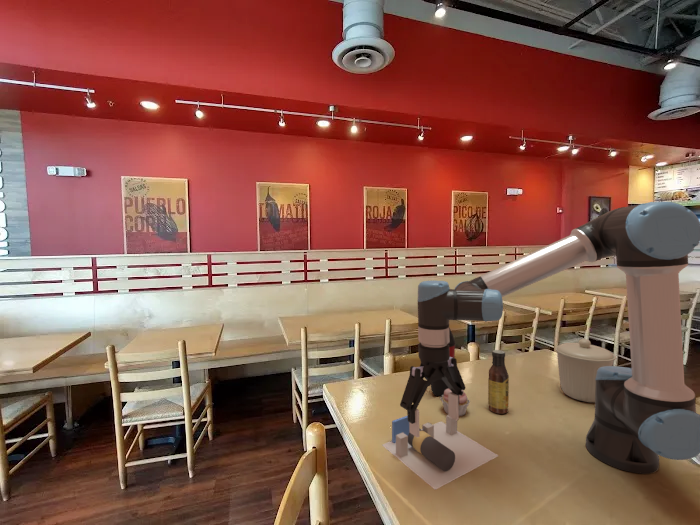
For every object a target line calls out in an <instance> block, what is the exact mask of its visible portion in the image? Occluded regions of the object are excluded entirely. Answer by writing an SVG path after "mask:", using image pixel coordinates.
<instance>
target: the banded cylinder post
mask: <svg viewBox="0 0 700 525" xmlns="http://www.w3.org/2000/svg"><path fill="white" fill-rule="evenodd" d="M421 429H422V428H420V427H419V434H420V437H418V438H417V437H416V436H414V435H413V434H411V433H410V432H409V435H408V443H409V445H411V446H412V447H413V448H414V449H415V450H417V451H418V452H419V453H421V454H422V455H423V456H425V457H426V458H427V459H429V460H430V461H431V462H432V463H434V464H435V465H436V466H438V467H439V468H440V469H441V470H443V471H448V470H450V469H451V468H452V466H453V464H454V462H455V454H454V452H453V451H452V450H450V449H449V448H447V447H446V446H444V445H443V444H441V443H440V442H439V441H437V440H436V439H434V438H433V437H432V436H430V435H429V434H427V433H426V432H424V431H423V430H421Z"/></svg>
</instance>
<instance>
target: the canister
mask: <svg viewBox="0 0 700 525" xmlns="http://www.w3.org/2000/svg"><path fill="white" fill-rule="evenodd" d="M554 350H555V352H556V354H557V356H556V357H557V366H558V367H557V368H558V375H559V376H558V377H559V383H560V389H561V390H562V392H563V393H564V394H565V395H566V396H568V397H569V398H571V399H575V400H577V401H580V402H586V403H591V404H592V403H595V390H596V380H595V378H596V374H597V370H598V369H599V368H600V367H604V366H613V365H614V361H615V360H616V359H617V356H616V354H614V353H612V352H611V351H610V350H608V349H607V348H604V347H601V346H597V345H594V344H592V343H591V341H590V340H589V339H586V338H581V339H579V340H578V342H564V343H562V344H558V345H557V346H555V347H554Z"/></svg>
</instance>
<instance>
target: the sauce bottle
mask: <svg viewBox="0 0 700 525" xmlns="http://www.w3.org/2000/svg"><path fill="white" fill-rule="evenodd" d="M491 356H492V362H491V363H492V365H491V367H489V369H488V379H487V380H488V383H487V384H488V387H487V388H488V393H487V394H488V395H487V396H488V398H487V400H488V402H487V403H488V409H489V411H491V412H492V413H495V414H500V415H503V414H507V413H508V411H509V402H510V400H509V396H510V395H509V393H510V390H509V388H510V387H509V386H510V382H509V380H510V376H509V373H508V369H507V368H506V363H505V362H506V359H505V358H506V352H505V351H504V350H501V349H494V350H492V351H491Z"/></svg>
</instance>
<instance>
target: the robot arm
mask: <svg viewBox="0 0 700 525" xmlns="http://www.w3.org/2000/svg"><path fill="white" fill-rule="evenodd" d="M699 245H700V219H699V218H698V216H697V215H696V214H695V212H693V211H692V210H691V209H689V208H687V207H686V206H684V205H682V204H680V203H676V202H672V201H650V202H645V203H640V204H634V205H630V206H622V207H618V208H614V209H612V210H610V211H607V212H605V213H604V214H602V215H599V216H598V217H595V218H593V219H592V220H590V221H588V222H585V223H584V224H582V225H579V226H578V227H576V228H574V229H571V231H570V234H569V235H567V236H565V237H563V238H560V239H559V240H556V241H554V242H552V243H550V244H547V245H545V246H544V247H542V248H541V247H540V248H539V249H536V250H534V251H532V252H530V253H527V254H526V255H524V256H521V257H520V258H517V259H515V260H513V261H511V262H508V263H506V264H504V265H502V266H499V267H497V268H495V269H493V270H491V271H488V272H485V273H484V274H481V275H480V276H478V277H475V278H473V279H471V280H465V281H461V282H459V283H458V284H456V286H455V287H454V288H453V289H452V288H451V287H450V284H449V282H448V281H445V280H424V281H421V282H419V284H418V286H417V320H418V321H417V324H418V326H417V331H418V333H417V334H418V335H417V336H418V339H417V340H418V342H419V343H418V344H417V345H418V347H417V348H418V358H419V360H420V365H419V366H416V367H415V366H414V365H411V366H410V367H409V377H408V380H407V381H406V385H405V388H404V392H403V394H402V398H401V401H400V403H399V405H400V407H401V408H403V409H404V410H405V411H406V412H407V413H406V414H407V415H408V416H407V415H406V416H407V419H408V422H409V429H410V433H411V434H413V435H414V436H416V437H417V438H418V437H420V434H419V428H420V409H418V407H419V405H420V403H421V401H422V399H423V397H424V395H425V393H426V391H427V389H428V387H431V383H432V382H435V381H437V380H443V381H444V383H445V384H446V385H447V386H448V388H449V389H450V390H451V391H452V392H448V413H449V414H448V415H449V417H451V418H453V419H454V420H456V421H457V422H458V421H459V417H460V416H459V413H458V405H459V395H461V396H462V395H463V391H466V385H465V382H464V380H463V377H462V375H461V373H460V370H459V367H458V363H457V362H458V361H457V358H456V357H455V358H453V357H450V350H449V345H448V343H449V342H450V338H449V328H450V321H469V322H471V321H473V322H475V321H476V322H485V323H486V322H496V321H499V320H501V319H502V317H503V314H504V301H503V297H505V296H507V295H510V294H513V293H515V292H517V291H519V290H521V289H524V288H525V287H529V286H531V285H534V284H536V283H538V282H540V281H543V280H545V279H547V278H549V277H552V276H554V275H557V274H559V273H561V272H563V271H565V270H568V269H571V268H574V267H575V266H577V265H579V264H582V263H584V262H588V263H594V262H597V261H600V260H602V259H605V258H609V257H615V258H616V260H615V261H616V267H617V268H618V269H619V270H621V271H622V272H623V273H624V274H625V282H626V283H625V284H626V296H627V297H626V299H627V300H626V301H627V314H628V315H627V316H628V332H629V333H628V334H629V347H630V362H631V363H630V364H631V365H630V366H631V367H626V366H625V367H624V366H615V365H614V366H604V367H600V368H599V369H598V370H597V374H596V378H595V380H596V390H595V402H594V418H593V419H594V420H593V421H592V423H591V425H590V427H589V429H588V430H587V431H588V432H587V434H586V436H585V448H586V449H587V451H588V452H589V454H591V455H592V456H593V457H595V458H596V459H598V460H599V461H601V462H602V463H604V464H606V465H608V466H611V467H613V468H616V469H618V470H621V471H626V472H629V473H633V474H634V473H635V474H644V475H645V474H654V473H655V472H657V471H658V470H659V468H660V457H662V458H665V459H668V460H675V461H684V460H690V459H694V458H696V457H698V456H699V454H700V413H698V412H697V406H696V404H697V403H696V394H695V392H694V391H693V389H691V388H690V387H689V386H687V385H686V383H685V371H684V370H685V368H684V353H683V352H684V351H683V350H684V349H683V333H682V332H683V331H682V315H681V314H682V312H681V295H680V294H681V293H680V278H679V274H680V272H681V271H683V270H684V269H685V268H686V267H687V266H689V254H690V253H692V252H693V251H694V249H695V247H697V246H699ZM447 367H448V370H449V372H450V375H451V377H452V379H451V377H450V375H449V373H448V372H447V371H446V369H447ZM462 390H463V391H462Z"/></svg>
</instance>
